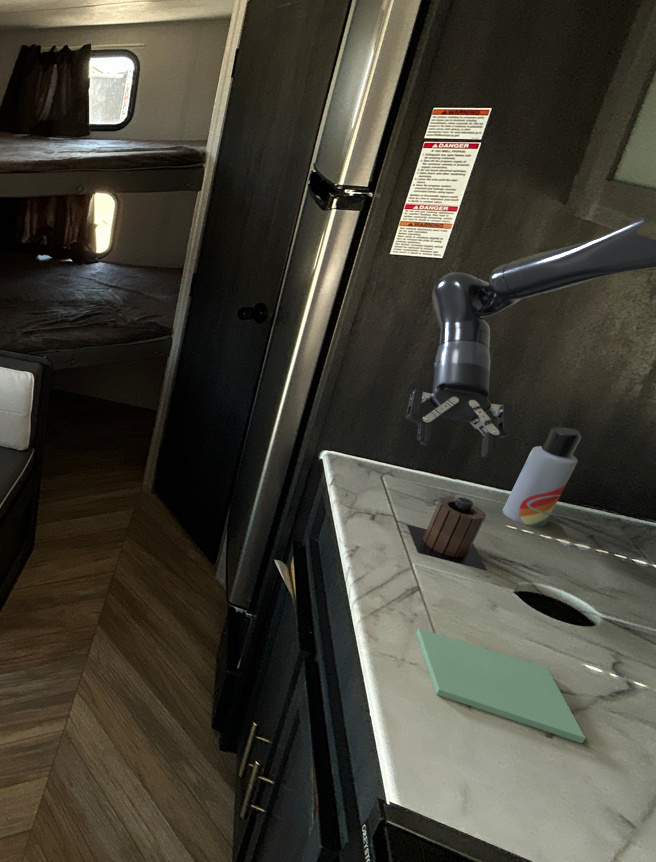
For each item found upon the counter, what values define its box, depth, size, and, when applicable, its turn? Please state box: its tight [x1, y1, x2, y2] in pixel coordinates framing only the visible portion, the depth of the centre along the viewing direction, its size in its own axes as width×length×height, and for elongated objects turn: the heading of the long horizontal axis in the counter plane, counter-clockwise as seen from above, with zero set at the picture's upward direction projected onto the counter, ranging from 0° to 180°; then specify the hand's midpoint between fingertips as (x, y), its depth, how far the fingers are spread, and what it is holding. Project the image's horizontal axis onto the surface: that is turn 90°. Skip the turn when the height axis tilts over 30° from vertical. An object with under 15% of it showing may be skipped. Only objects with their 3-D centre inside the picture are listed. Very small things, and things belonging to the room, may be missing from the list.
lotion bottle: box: [502, 426, 582, 528], centre depth 114 cm, size 6×6×20 cm
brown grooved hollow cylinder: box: [423, 497, 487, 557], centre depth 108 cm, size 6×6×8 cm
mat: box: [415, 628, 586, 744], centre depth 85 cm, size 14×12×1 cm
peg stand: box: [406, 496, 488, 571], centre depth 108 cm, size 9×9×11 cm
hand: (455, 450), depth 113 cm, fingers open, 8 cm apart
